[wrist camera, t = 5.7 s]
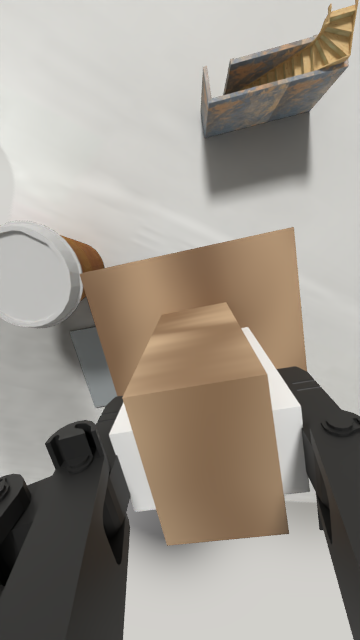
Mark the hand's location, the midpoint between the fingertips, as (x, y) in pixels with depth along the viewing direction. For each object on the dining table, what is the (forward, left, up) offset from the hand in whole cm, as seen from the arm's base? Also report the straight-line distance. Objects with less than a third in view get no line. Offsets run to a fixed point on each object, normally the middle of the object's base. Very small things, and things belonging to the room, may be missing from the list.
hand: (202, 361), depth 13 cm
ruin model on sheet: (+10, +18, -22) cm, 30 cm away
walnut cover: (0, 0, -3) cm, 3 cm away
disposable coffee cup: (-14, +6, -21) cm, 26 cm away
